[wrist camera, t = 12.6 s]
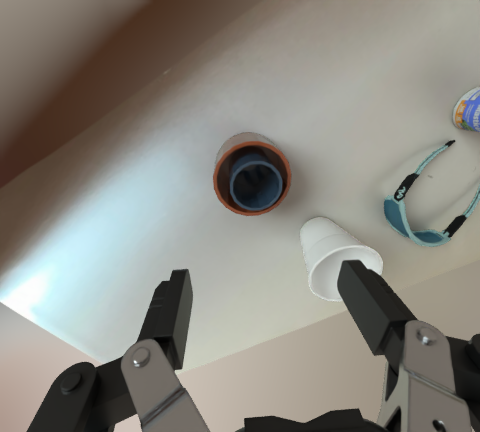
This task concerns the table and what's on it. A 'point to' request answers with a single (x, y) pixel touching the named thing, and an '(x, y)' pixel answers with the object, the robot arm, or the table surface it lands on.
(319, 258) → the cup
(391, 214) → the sunglasses
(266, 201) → the slate cup
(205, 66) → the table surface
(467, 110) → the pill bottle
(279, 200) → the terracotta cup
